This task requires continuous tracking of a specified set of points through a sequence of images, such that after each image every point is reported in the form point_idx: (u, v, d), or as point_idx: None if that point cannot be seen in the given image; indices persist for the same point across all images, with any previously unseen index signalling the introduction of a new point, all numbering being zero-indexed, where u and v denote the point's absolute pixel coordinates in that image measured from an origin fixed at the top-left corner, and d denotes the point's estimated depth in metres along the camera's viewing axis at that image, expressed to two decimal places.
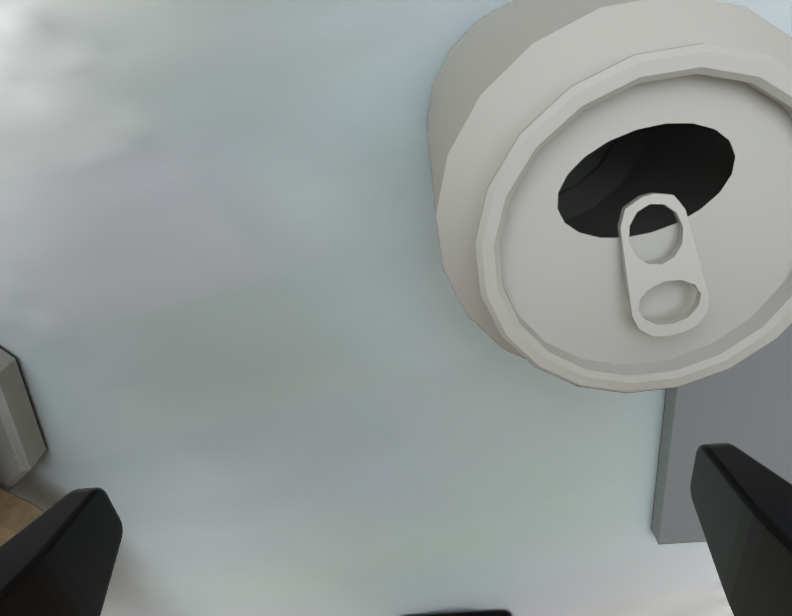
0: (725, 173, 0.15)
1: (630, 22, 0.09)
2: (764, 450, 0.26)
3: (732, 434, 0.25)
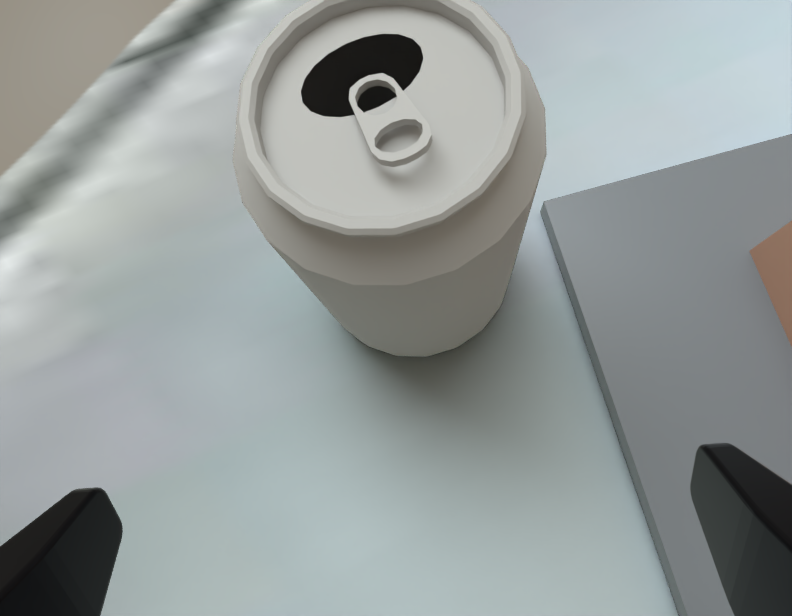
0: None
1: None
2: None
3: None
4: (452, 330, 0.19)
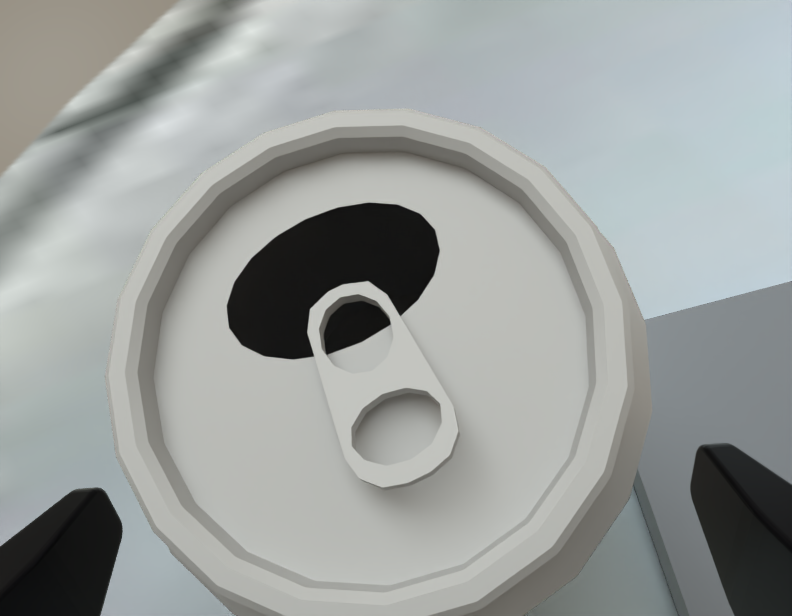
0: None
1: None
2: None
3: None
4: None
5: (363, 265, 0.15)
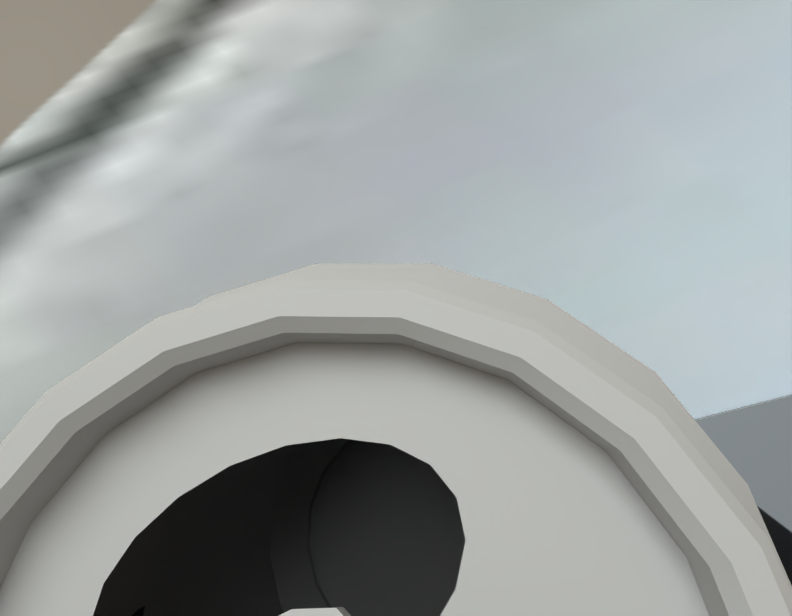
0: None
1: None
2: None
3: None
4: None
5: None
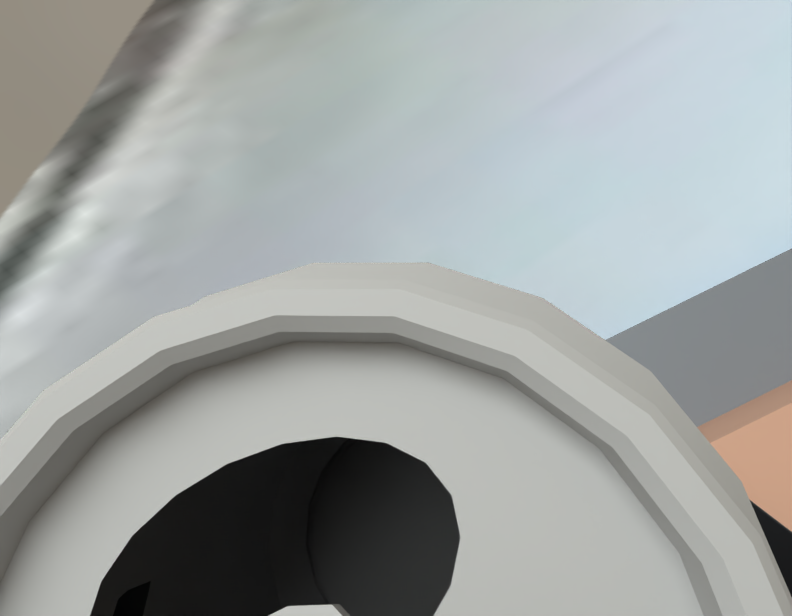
0: None
1: None
2: None
3: None
4: None
5: None
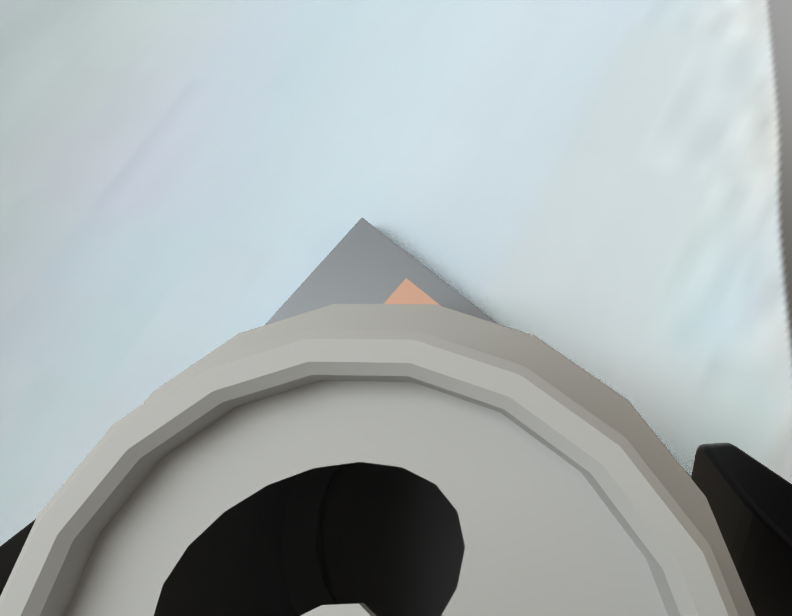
0: None
1: (265, 340, 0.06)
2: None
3: None
4: None
5: None
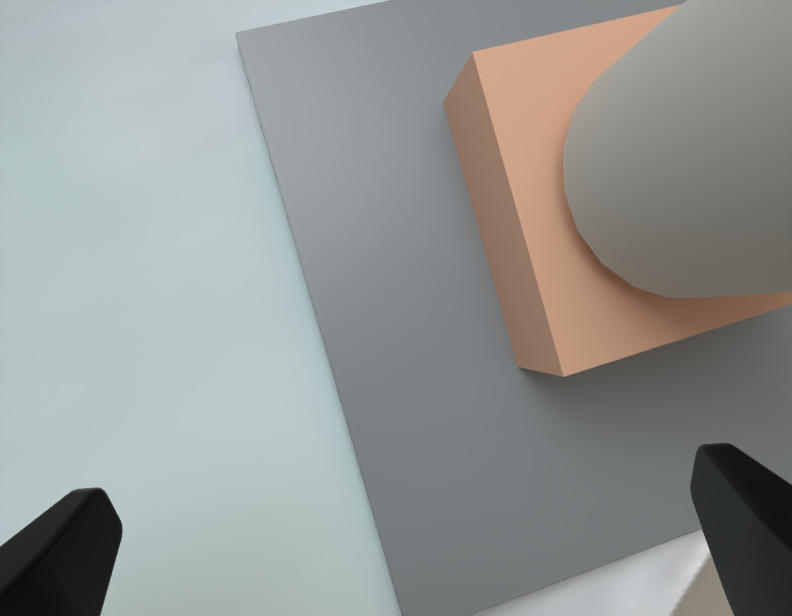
0: None
1: None
2: (473, 448, 0.21)
3: (425, 432, 0.21)
4: (747, 291, 0.14)
5: None
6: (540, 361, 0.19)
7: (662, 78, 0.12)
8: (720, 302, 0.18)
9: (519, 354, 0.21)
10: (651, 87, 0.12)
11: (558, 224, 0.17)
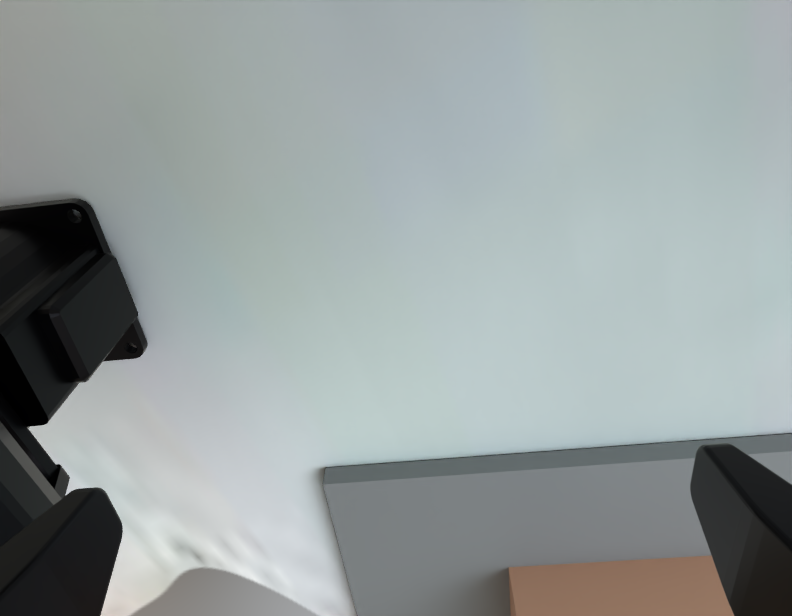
0: None
1: None
2: (456, 537, 0.27)
3: (478, 514, 0.27)
4: None
5: None
6: (524, 614, 0.26)
7: None
8: None
9: (520, 576, 0.28)
10: None
11: None
